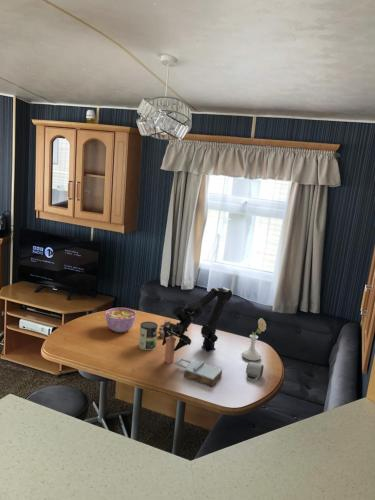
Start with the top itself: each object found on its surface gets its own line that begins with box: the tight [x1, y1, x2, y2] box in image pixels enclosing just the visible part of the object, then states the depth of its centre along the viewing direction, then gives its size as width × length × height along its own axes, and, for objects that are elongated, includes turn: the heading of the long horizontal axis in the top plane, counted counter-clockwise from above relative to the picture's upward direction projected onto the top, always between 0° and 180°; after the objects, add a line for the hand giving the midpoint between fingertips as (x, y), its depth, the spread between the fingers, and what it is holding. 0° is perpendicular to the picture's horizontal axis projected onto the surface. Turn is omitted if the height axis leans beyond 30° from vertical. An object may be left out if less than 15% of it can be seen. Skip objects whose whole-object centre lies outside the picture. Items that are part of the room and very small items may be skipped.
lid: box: [173, 357, 223, 380], centre depth 211 cm, size 24×12×2 cm, turn 62°
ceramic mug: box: [245, 361, 264, 382], centre depth 214 cm, size 11×8×8 cm
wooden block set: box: [159, 318, 176, 339], centre depth 263 cm, size 17×6×18 cm
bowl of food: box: [104, 307, 137, 333], centre depth 257 cm, size 20×20×12 cm
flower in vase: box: [241, 317, 267, 361], centre depth 235 cm, size 13×11×25 cm
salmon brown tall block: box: [164, 336, 177, 364], centre depth 222 cm, size 4×4×14 cm
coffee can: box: [138, 320, 158, 351], centre depth 237 cm, size 10×10×14 cm
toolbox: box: [183, 370, 223, 388], centre depth 210 cm, size 16×12×4 cm
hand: (168, 347), depth 221 cm, fingers open, 9 cm apart
